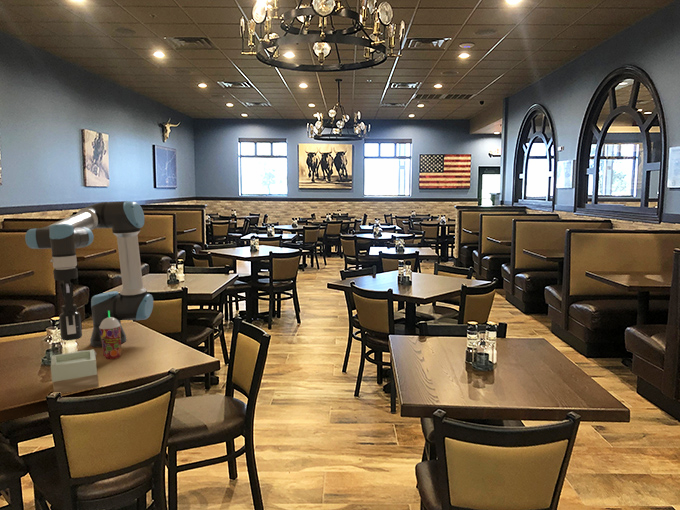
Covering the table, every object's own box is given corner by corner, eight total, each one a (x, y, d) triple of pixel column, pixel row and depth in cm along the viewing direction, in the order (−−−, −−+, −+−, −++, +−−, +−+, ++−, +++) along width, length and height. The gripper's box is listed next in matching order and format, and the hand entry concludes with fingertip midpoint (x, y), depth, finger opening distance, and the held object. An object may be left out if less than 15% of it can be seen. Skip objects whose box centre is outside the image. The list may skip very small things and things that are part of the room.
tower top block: (53, 370, 191) (51, 355, 190) (95, 363, 197) (93, 349, 197) (52, 382, 179) (50, 366, 178) (97, 374, 185) (95, 359, 184)
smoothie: (105, 362, 213) (101, 314, 210) (99, 357, 219) (95, 311, 216) (126, 357, 218) (122, 310, 215) (119, 352, 224) (115, 307, 222)
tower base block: (53, 383, 191) (52, 370, 190) (95, 376, 198) (94, 363, 197) (54, 396, 179) (52, 382, 178) (98, 388, 186) (97, 374, 185)
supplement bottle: (73, 341, 182) (70, 307, 181) (56, 340, 184) (53, 307, 182) (86, 335, 189) (83, 303, 188) (70, 335, 190) (67, 303, 189)
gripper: (52, 265, 190) (58, 326, 193) (53, 272, 173) (60, 339, 176) (75, 263, 194) (81, 323, 196) (78, 270, 176) (84, 336, 179)
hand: (71, 331), depth 186 cm, fingers closed on supplement bottle, 7 cm apart
